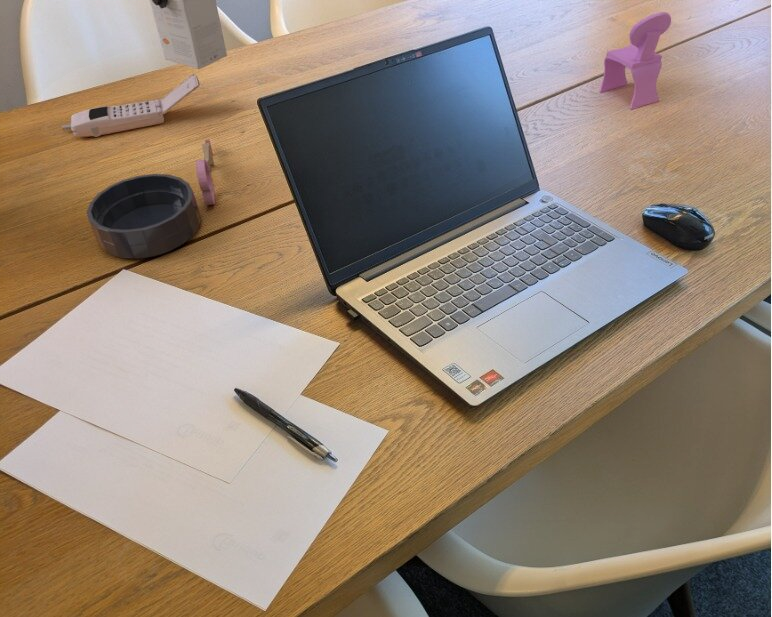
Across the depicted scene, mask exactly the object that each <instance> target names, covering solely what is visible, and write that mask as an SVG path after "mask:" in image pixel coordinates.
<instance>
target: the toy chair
mask: <svg viewBox="0 0 772 617" xmlns="http://www.w3.org/2000/svg"><path fill="white" fill-rule="evenodd" d="M671 24H672V17H671V14H670V13H669V12H665V11H662V12H658V13H654V14H653V13H652V14H651V15H649V16H647V17H644V18H642V19H641V20H640V21H637V23H635V24H634V25H633V27H632V28H631V29H630V32H629V43H630V45H627V46H625V47H621V48H617V49H611V50H609V51H606V56H605V57H604V59H603V64H604V65H603V66H604V68H603V69H604V70H603V76H602V77H603V78H602V81H601V85H600V88H599V93H604V92H607V91H610V90H613V89H618V88H621V87H623V86H627V85H628V80H627V76H626V68H627V69H628V70H629V71H630V72H631V73H630V74H631V76H632V80H633V84H634V91H633V96H632V99H631V102H630V105H629V110H634V109H638V108H641V107H644V106H647V105H651V104H653V103H654V104H655V103H657V102H659V101H660V99H659V95H658V91H657V82H658V78H659V75H660V72H661V69H662V64H663V63H662V58H663V55H661V54H660V53H657V52H656V49H657V46H658V43H659V40H660V37H661V36H662V35H663V34H664V33H666V32H667V31H668V29H670V27H671Z"/></svg>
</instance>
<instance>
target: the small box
mask: <svg viewBox="0 0 772 617" xmlns="http://www.w3.org/2000/svg"><path fill="white" fill-rule="evenodd" d="M149 3H150V6H151V10H152V14H153V19H154V22H155V26H156V30H157V33H158V37H159V40H160V44H161V48H162V52H163V56H164V59H165V60H166V61H170V62H173V63H176V64H179V65H183V66H186V67H190V68H192V69H197V70H202V69H203V68H206V67H207V66H210V65H212V64H214V63H216V62H217V61H220V60H222V59H224V58H225V57H227V56H228V53H227V48H226V44H225V37H224V33H223V28H222V23H221V19H220V13H219V9H218V5H217V0H168V3H167V6H166V7H165V8H162V9H161V8H160V6H159V5H156V4H154V3H153V1H152V0H149Z"/></svg>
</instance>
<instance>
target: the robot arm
mask: <svg viewBox="0 0 772 617" xmlns="http://www.w3.org/2000/svg"><path fill="white" fill-rule="evenodd" d="M152 1H153V3H154V4H156V5H159V6H160V8H161V9H162V8H165V7H166V6H167V3H168V0H152Z"/></svg>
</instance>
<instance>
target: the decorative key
mask: <svg viewBox="0 0 772 617" xmlns="http://www.w3.org/2000/svg"><path fill="white" fill-rule="evenodd" d="M201 147H202V152H203V159H199V160H195V172H196V177H197V181H198V185H199V189H200V192H202V194H201V195H202V198H203V203H204V205H205V206H211V205H215V204H216V198H215V192H214V191H215V190H214V182H213V181H214V180H213V178H212V175H211V173H212V169H211V167H214V166H215V161H214V157H213V155H214V153H213V148H212V144H211V140H210V139H205V140H204V143H201Z"/></svg>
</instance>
